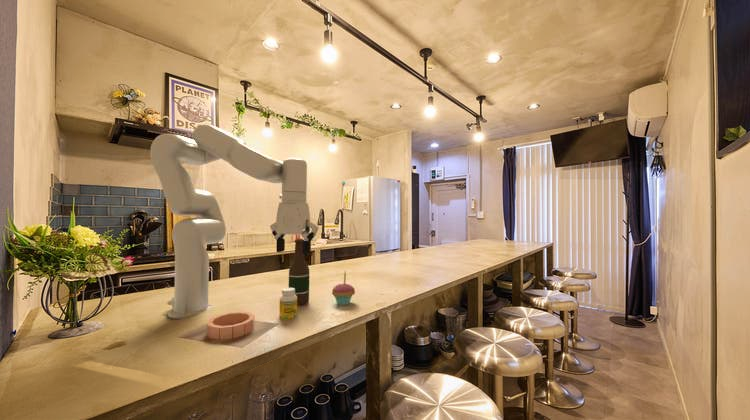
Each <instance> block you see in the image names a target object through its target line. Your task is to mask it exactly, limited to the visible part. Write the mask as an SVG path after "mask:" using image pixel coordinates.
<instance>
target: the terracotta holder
mask: <svg viewBox="0 0 750 420" xmlns="http://www.w3.org/2000/svg"><path fill="white" fill-rule="evenodd" d="M254 321H255V315H254V314H253V313H252V312H249V311H248V312H247V311H232V312H225V313H221V314H218V315H216V316H213V317H211V318H210V319H209V320H208V321H207V322H206V324H207V336H208V337H209V338H212V339H220V340H221V339H231V338H236V337H239V336H242V335H245V334H247V333H249V332H250V331H252V330H253V328H254ZM237 323H238V324H237ZM229 324H235V325H229ZM225 325H227V326H225Z"/></svg>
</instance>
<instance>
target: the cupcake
mask: <svg viewBox="0 0 750 420" xmlns="http://www.w3.org/2000/svg"><path fill="white" fill-rule="evenodd" d="M343 276H344V277H343V283H339V284H337V285H336V286H334V287H333V288H332V290H331V291H332V292H331V294H332V295H333V297H334V298H335V301H336V304H338V305H339V306H346V305H349V304H350V303H351V299H352V297H353V295H355V294H356V293H355V291H356V290H355V287H353V286H352V285H351V284H348V283H346V281H347V279H346V278H347V271H346V270H344V275H343Z"/></svg>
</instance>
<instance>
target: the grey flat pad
mask: <svg viewBox="0 0 750 420" xmlns="http://www.w3.org/2000/svg"><path fill="white" fill-rule="evenodd" d="M237 324H238V323H237ZM229 325H235V324H229ZM278 325H279V323H277V322H276V323H275V322H269V321H268V322H267V321H262V320H261V321H260V320H254V328H253V330H252V331H250V332H249V333H247V334H245V335H242V336H239V337H236V338H231V339H221V340H220V339H212V338H209V337H208V336H207V323H205V324H203V325H201V326H198V327H197V328H196V327H195V328H194V329H191V330H190V331H188V332H186V333H183V334H181V335H179V336H178V338H181V339H186V340H191V341H192V340H194V341H197V342H204V343H211V344H217V345H218V344H219V345H222V346H223V345H224V346H231V347H236V348H237V347H238V348H242V349H243V348H244V347H246V346H248V345H249V344H251V343H252V342H253V341H255V340H257V339H258V338H260V337H261V336H263V335H264V334H266V333H267V332H269V331H271V330H272V329H274V328H275V327H277V326H278ZM225 326H227V325H225Z"/></svg>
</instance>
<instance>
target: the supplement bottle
mask: <svg viewBox="0 0 750 420" xmlns="http://www.w3.org/2000/svg"><path fill="white" fill-rule="evenodd" d="M281 294H282V295H281V296H280V297H279V319H280V318H281V319H284V320H287V319H288V320H290V319H294V318H296V317H297V316H298V306H297V296H296V295H295V288H289V287H285V288H282V289H281Z"/></svg>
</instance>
